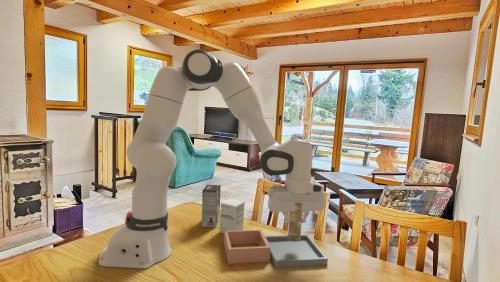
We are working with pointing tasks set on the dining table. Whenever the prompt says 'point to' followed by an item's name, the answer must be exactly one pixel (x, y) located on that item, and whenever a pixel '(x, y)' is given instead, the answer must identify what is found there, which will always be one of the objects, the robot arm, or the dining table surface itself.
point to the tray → (295, 252)
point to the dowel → (295, 223)
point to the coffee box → (211, 205)
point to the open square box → (246, 252)
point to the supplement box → (231, 215)
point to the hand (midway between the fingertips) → (295, 222)
